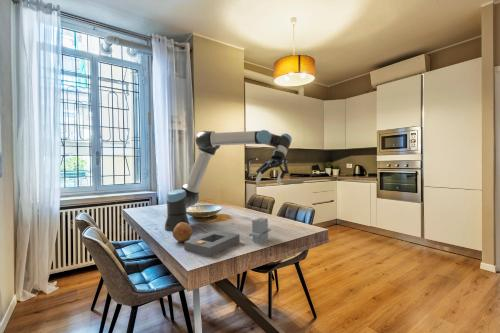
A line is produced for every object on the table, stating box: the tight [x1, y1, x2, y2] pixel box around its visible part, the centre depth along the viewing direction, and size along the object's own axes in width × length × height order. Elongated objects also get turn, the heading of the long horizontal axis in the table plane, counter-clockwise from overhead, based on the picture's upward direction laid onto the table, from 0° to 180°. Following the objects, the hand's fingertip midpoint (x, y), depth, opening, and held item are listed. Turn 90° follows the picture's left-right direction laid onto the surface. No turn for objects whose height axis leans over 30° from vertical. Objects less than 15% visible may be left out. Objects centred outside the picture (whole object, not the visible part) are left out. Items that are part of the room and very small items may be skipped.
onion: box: [172, 222, 193, 243], centre depth 129 cm, size 10×10×10 cm
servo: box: [248, 217, 271, 244], centre depth 127 cm, size 13×5×12 cm, turn 146°
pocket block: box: [183, 229, 241, 258], centre depth 121 cm, size 22×16×5 cm
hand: (267, 182), depth 134 cm, fingers open, 13 cm apart
